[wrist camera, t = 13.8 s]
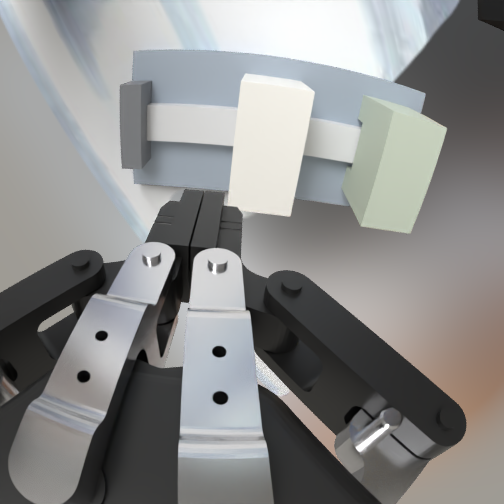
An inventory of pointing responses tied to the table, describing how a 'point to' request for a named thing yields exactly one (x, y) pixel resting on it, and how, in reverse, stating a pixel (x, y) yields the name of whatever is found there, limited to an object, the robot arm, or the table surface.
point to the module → (269, 143)
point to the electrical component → (492, 12)
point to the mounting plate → (317, 141)
